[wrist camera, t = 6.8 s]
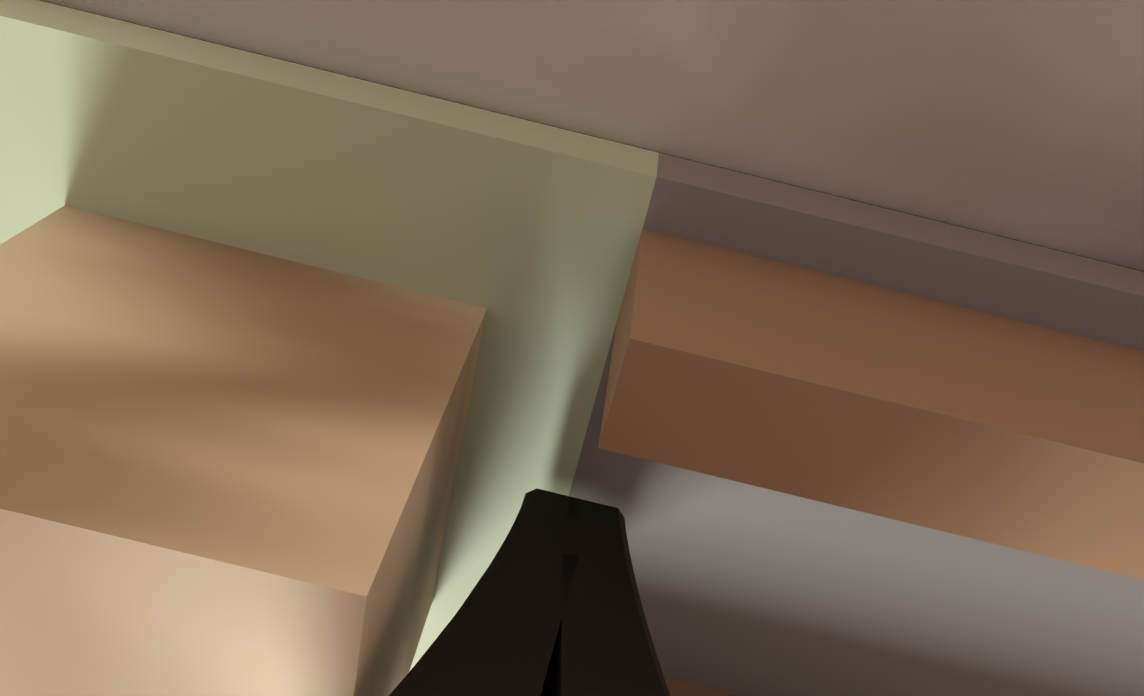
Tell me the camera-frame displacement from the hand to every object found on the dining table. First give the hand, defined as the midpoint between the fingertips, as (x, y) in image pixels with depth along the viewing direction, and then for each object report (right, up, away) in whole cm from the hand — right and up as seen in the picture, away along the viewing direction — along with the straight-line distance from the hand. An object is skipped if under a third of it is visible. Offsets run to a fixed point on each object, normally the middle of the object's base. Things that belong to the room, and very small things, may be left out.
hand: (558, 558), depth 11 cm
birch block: (-4, +1, +1) cm, 4 cm away
